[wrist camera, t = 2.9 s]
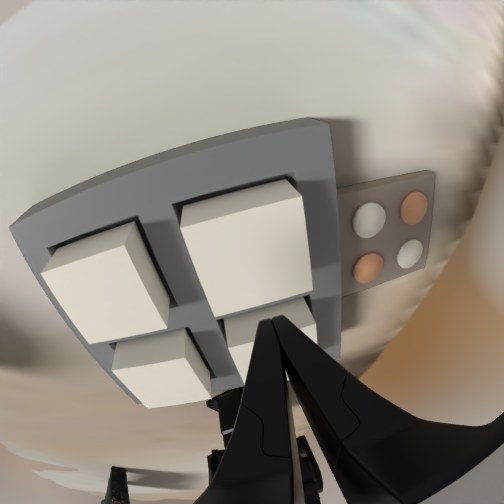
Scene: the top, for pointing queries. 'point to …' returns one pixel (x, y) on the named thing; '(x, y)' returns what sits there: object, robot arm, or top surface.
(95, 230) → the control panel
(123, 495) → the ceramic cat
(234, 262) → the button front right
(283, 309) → the button back right
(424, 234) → the pattern card
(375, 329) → the top surface
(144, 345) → the button back left
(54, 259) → the button front left
